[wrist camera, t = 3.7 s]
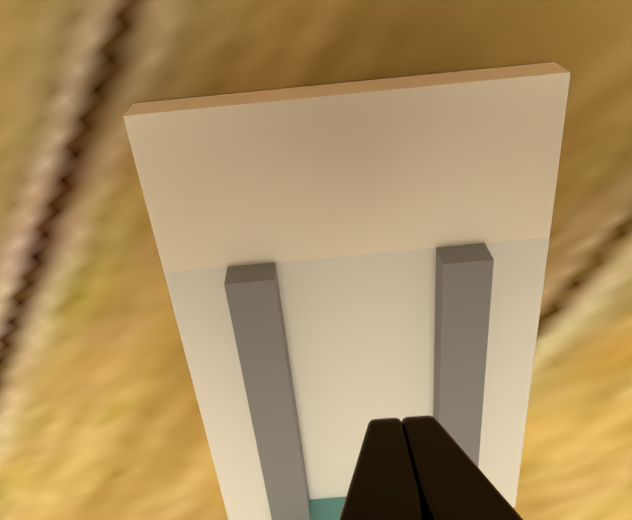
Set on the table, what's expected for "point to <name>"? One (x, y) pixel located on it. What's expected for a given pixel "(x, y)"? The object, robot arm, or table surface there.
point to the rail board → (354, 268)
